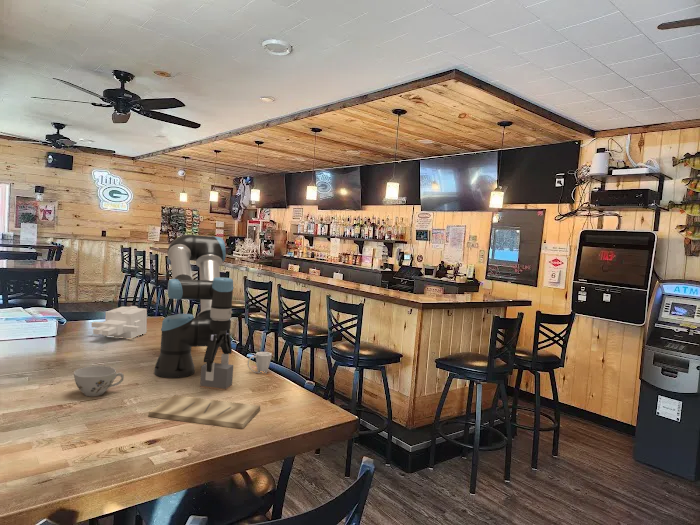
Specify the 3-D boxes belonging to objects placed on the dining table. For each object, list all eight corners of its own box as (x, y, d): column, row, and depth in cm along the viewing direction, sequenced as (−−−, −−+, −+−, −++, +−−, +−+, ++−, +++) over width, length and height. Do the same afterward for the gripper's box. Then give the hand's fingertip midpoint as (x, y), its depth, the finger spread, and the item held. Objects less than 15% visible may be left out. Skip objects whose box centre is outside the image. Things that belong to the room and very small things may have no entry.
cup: (272, 374, 194) (273, 355, 194) (248, 375, 190) (250, 356, 190) (268, 369, 201) (270, 351, 201) (245, 370, 197) (246, 352, 197)
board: (148, 416, 141) (148, 411, 141) (174, 399, 157) (174, 395, 157) (242, 428, 137) (243, 423, 137) (260, 410, 153) (260, 405, 153)
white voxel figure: (77, 344, 225) (114, 330, 253) (124, 350, 222) (156, 334, 250) (77, 315, 224) (114, 303, 251) (124, 320, 220) (157, 308, 248)
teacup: (71, 401, 148) (72, 377, 148) (73, 389, 159) (74, 366, 159) (123, 397, 155) (124, 374, 155) (122, 386, 166) (123, 364, 166)
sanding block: (200, 387, 172) (201, 366, 171) (207, 382, 178) (208, 362, 177) (225, 390, 170) (227, 369, 170) (232, 385, 176) (233, 364, 176)
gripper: (216, 325, 160) (212, 385, 161) (242, 315, 185) (238, 368, 185) (195, 323, 161) (192, 383, 162) (224, 313, 186) (220, 366, 186)
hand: (217, 375), depth 174 cm, fingers open, 13 cm apart
